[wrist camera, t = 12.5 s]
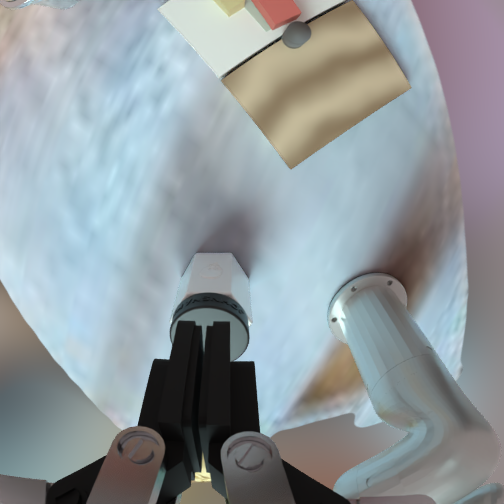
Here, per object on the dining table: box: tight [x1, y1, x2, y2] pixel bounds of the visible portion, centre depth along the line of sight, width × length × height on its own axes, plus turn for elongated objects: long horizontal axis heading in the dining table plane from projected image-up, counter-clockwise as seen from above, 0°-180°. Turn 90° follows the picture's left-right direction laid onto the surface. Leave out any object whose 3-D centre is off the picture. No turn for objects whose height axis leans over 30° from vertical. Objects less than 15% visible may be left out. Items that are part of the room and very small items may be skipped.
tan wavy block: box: [221, 0, 411, 169], centre depth 30 cm, size 13×18×5 cm
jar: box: [170, 253, 252, 361], centre depth 37 cm, size 9×8×12 cm
